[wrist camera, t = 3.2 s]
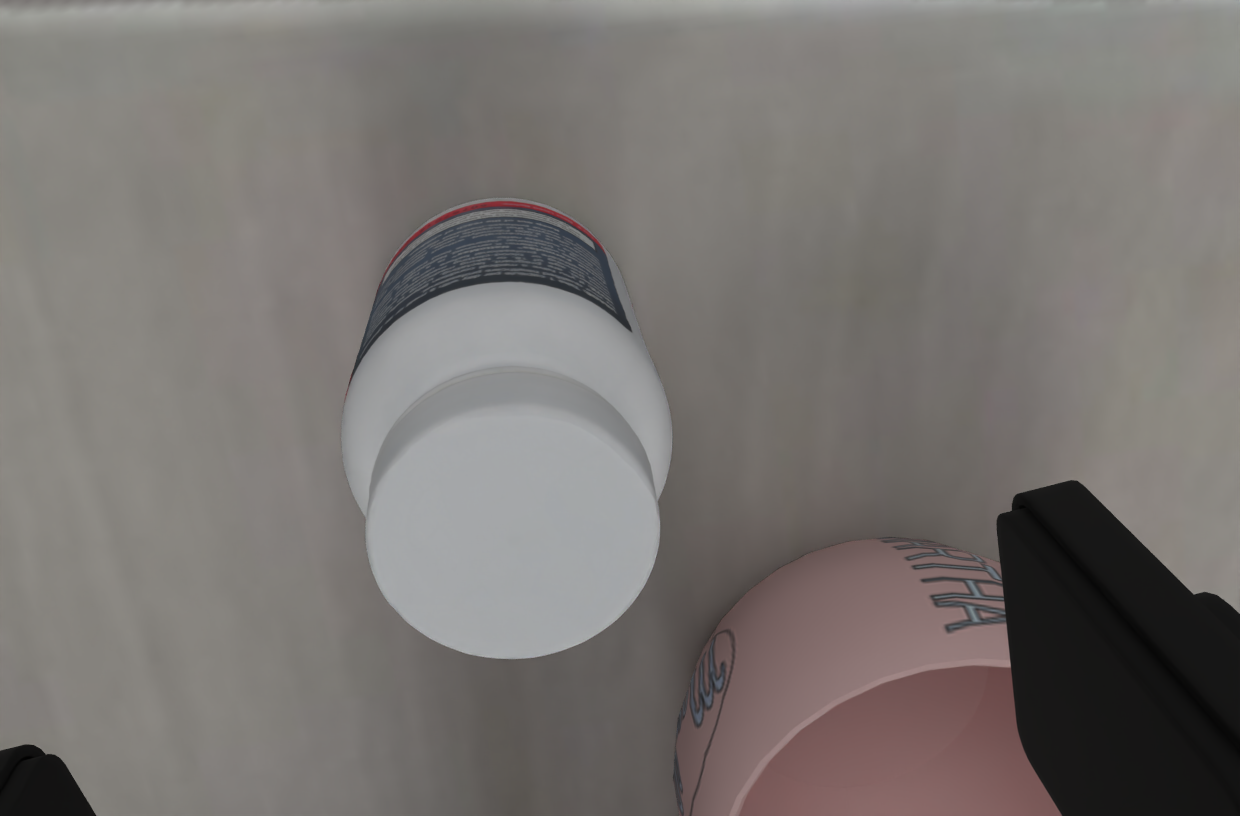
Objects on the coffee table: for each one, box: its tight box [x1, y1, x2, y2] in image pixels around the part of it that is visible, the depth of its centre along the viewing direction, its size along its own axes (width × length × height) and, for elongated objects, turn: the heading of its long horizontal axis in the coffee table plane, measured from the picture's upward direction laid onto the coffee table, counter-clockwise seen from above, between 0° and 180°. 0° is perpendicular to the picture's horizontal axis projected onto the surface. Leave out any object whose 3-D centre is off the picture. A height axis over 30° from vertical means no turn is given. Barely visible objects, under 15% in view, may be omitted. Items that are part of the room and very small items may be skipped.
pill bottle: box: [341, 198, 673, 659], centre depth 18 cm, size 5×5×9 cm
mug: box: [673, 537, 1062, 816], centre depth 25 cm, size 12×10×6 cm
